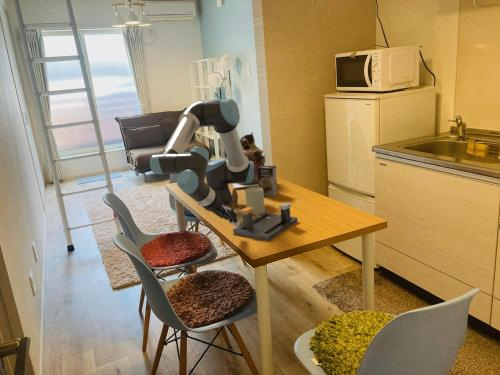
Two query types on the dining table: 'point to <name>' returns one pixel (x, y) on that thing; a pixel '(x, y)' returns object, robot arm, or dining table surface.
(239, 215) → the hand bell
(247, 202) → the can
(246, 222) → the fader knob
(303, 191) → the dining table surface
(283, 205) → the dark grey stand
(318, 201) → the dining table surface
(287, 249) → the dining table surface
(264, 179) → the coffee box
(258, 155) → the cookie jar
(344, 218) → the dining table surface
